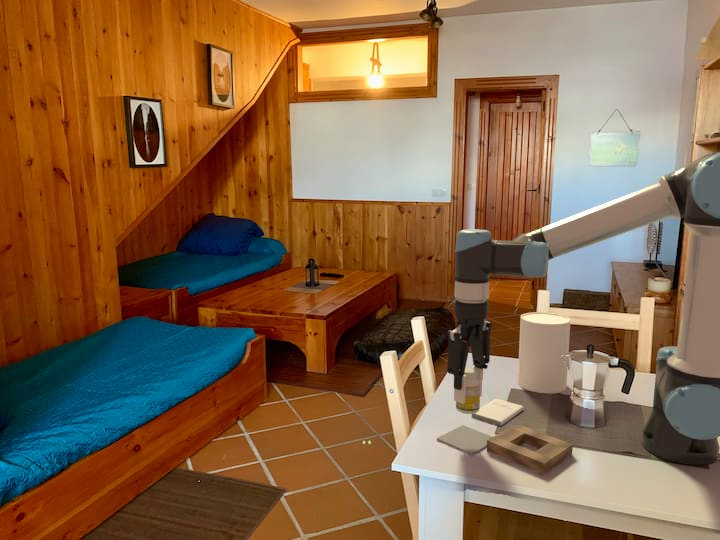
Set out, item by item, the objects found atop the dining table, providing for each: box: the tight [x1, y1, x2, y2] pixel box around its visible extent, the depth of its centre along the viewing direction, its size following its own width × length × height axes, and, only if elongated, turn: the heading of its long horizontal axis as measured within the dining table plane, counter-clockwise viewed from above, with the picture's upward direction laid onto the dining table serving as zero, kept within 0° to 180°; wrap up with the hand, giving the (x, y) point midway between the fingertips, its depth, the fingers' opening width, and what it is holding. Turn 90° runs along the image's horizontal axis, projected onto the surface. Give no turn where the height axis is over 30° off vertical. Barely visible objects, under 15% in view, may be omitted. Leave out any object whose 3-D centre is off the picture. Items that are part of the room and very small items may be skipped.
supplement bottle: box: [455, 366, 481, 415], centre depth 129 cm, size 5×5×10 cm
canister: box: [517, 311, 571, 394], centre depth 163 cm, size 14×14×20 cm
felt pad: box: [436, 424, 493, 456], centre depth 131 cm, size 10×10×1 cm
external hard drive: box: [471, 398, 524, 427], centre depth 146 cm, size 2×8×12 cm
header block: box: [486, 423, 574, 475], centre depth 125 cm, size 14×12×2 cm
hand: (467, 398), depth 129 cm, fingers closed on supplement bottle, 5 cm apart
